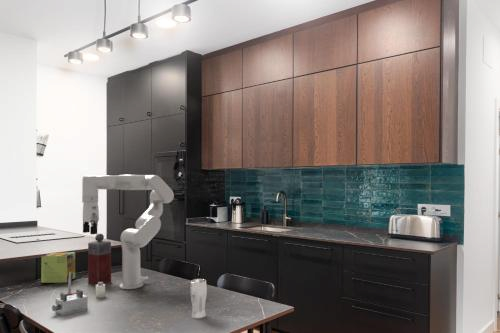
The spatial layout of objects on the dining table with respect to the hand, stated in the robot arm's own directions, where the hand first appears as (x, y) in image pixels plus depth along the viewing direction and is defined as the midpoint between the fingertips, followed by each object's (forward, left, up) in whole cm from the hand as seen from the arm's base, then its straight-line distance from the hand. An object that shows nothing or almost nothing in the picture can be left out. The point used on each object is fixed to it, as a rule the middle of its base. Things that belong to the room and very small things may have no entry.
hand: (89, 233), depth 196 cm
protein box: (0, -47, -32) cm, 57 cm away
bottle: (-3, +4, -32) cm, 32 cm away
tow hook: (+6, -7, -32) cm, 33 cm away
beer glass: (-20, +63, -32) cm, 74 cm away
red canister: (-14, -24, -32) cm, 42 cm away
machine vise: (+16, +15, -32) cm, 39 cm away
